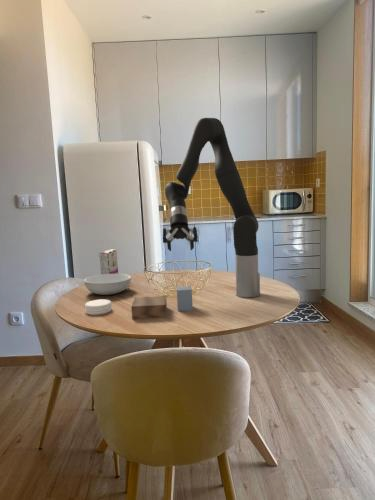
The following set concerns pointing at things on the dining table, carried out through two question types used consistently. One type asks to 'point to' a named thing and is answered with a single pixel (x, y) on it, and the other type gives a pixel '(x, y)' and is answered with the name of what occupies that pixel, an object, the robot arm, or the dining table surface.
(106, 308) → the white round disc
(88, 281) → the serving bowl
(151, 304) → the walnut block
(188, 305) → the slate-blue block
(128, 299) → the dining table surface
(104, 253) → the candy bar box
